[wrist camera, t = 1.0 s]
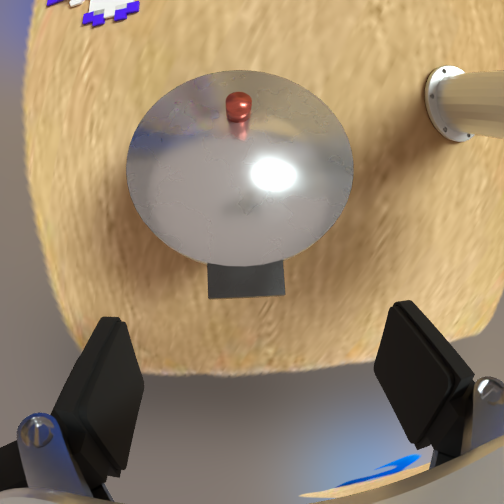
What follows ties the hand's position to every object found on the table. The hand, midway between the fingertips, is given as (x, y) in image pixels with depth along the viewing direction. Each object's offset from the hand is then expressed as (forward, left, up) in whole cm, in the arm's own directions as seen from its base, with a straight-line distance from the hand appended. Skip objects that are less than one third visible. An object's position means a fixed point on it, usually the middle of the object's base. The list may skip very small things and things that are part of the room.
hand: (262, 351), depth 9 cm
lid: (0, -4, -16) cm, 17 cm away
